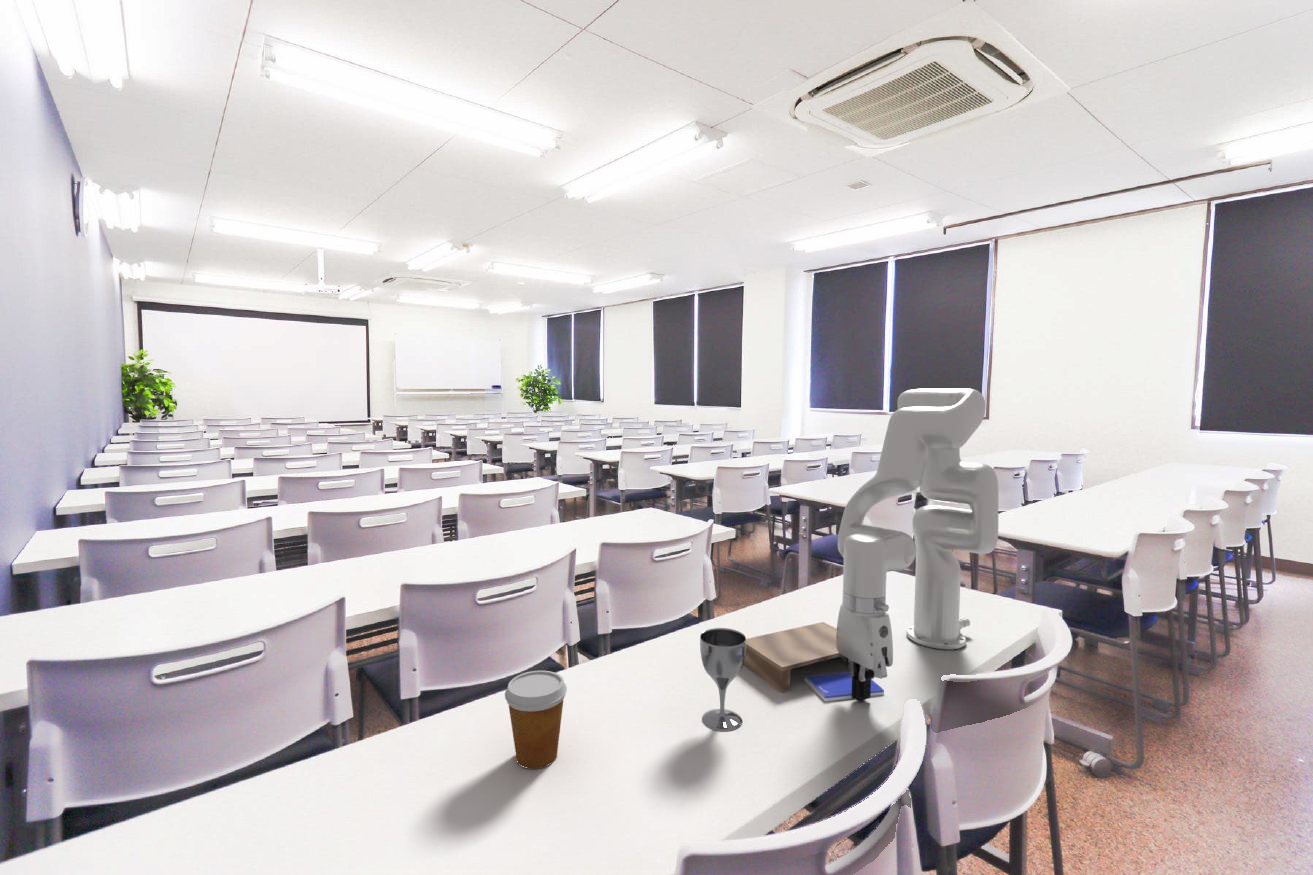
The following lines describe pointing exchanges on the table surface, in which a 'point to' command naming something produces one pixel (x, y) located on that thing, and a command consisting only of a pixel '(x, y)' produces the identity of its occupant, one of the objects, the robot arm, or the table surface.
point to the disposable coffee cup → (536, 716)
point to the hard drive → (837, 686)
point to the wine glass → (722, 671)
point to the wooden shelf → (789, 652)
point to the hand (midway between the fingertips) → (860, 697)
